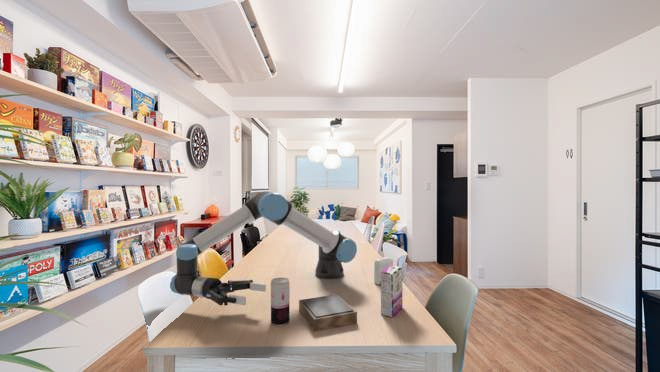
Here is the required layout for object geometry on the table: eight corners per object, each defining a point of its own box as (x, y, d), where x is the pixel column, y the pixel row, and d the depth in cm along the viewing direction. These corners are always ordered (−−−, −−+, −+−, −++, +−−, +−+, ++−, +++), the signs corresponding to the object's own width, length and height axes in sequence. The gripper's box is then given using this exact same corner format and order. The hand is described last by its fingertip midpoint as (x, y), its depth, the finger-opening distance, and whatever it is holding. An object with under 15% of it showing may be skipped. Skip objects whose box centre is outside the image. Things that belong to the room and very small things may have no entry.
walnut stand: (336, 304, 127) (336, 293, 127) (357, 323, 111) (357, 310, 111) (299, 310, 121) (299, 299, 121) (314, 331, 105) (314, 318, 105)
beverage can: (289, 317, 115) (289, 276, 115) (289, 325, 109) (289, 282, 109) (271, 318, 114) (270, 277, 114) (270, 327, 108) (270, 283, 107)
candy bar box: (390, 304, 127) (391, 264, 126) (402, 307, 124) (403, 266, 124) (379, 315, 117) (380, 271, 117) (392, 318, 115) (392, 273, 114)
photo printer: (388, 279, 159) (388, 255, 159) (394, 281, 155) (394, 256, 155) (372, 283, 153) (373, 258, 153) (378, 285, 150) (379, 259, 149)
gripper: (227, 286, 133) (272, 292, 126) (183, 309, 109) (235, 318, 103) (227, 269, 133) (272, 274, 126) (183, 288, 109) (235, 295, 102)
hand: (255, 294), depth 114 cm, fingers open, 13 cm apart
